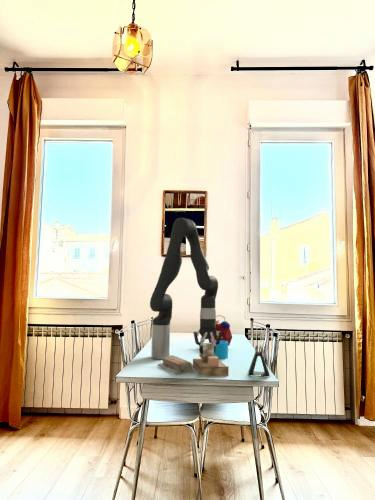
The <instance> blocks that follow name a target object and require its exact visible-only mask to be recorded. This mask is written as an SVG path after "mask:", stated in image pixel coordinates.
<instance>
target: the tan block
mask: <svg viewBox="0 0 375 500" xmlns="http://www.w3.org/2000/svg"><path fill="white" fill-rule="evenodd" d="M208 356H214V345H213V344H212V343H209V342H204V343H203V354H201V353H200V352H199V357H200V358H201V359H202V360H208Z"/></svg>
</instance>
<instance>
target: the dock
mask: <svg viewBox="0 0 375 500" xmlns="http://www.w3.org/2000/svg"><path fill="white" fill-rule="evenodd" d="M192 367H193V368H194V369H195V371H197V373H198V374H199V375H200V377H213V376H215V377H216V376H217V377H219V376H229V366H227V365H226V364H224V363H223V362H222V361H221V359H219V367H209V366H208V360H202V359H201V357H200V358H192Z"/></svg>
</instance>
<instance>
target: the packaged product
mask: <svg viewBox="0 0 375 500" xmlns="http://www.w3.org/2000/svg"><path fill="white" fill-rule="evenodd" d="M161 360H162V362H160V363H157V365H158V366H159V367H160V368H161V367H162V368H163V369H166V370H167V371H169V372H171V373H174V374H175V375H181V374H188V373H196V368H195V367H193V362H191V361H188V360H186V359H184V358H181V357H178V356H175V355H170V354H169V356H168V357H165V358H163V359H161Z"/></svg>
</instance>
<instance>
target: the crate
mask: <svg viewBox="0 0 375 500" xmlns="http://www.w3.org/2000/svg"><path fill="white" fill-rule="evenodd" d="M219 360H220V359H219V358H218V357H217V356H208V366H209V367H219Z"/></svg>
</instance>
